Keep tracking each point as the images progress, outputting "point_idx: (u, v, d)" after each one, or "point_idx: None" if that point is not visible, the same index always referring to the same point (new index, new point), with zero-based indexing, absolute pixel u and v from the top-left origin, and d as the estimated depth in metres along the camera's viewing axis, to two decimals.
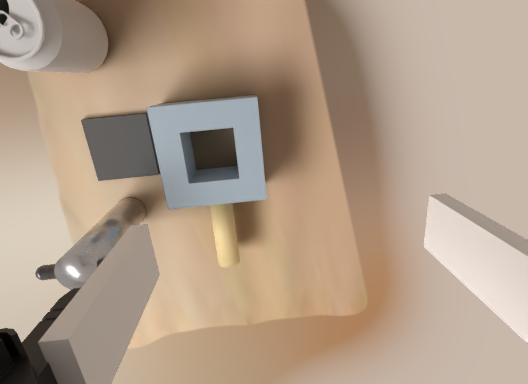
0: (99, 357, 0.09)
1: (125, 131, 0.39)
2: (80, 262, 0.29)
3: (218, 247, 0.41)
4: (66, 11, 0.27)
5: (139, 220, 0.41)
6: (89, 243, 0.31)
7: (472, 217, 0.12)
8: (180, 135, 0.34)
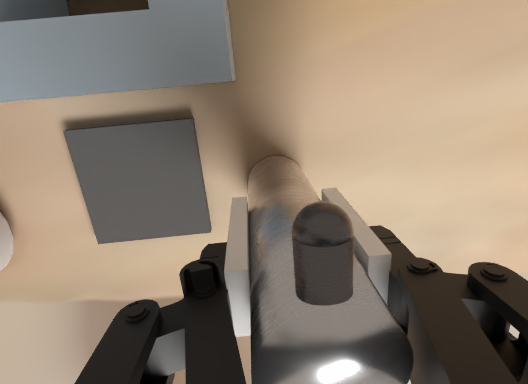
0: None
1: (106, 173, 0.20)
2: (284, 357, 0.07)
3: None
4: None
5: (284, 166, 0.18)
6: (252, 297, 0.09)
7: None
8: None
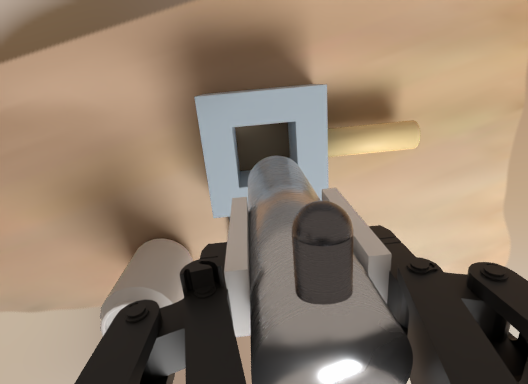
0: None
1: None
2: (284, 356, 0.07)
3: (389, 148, 0.32)
4: (127, 278, 0.30)
5: (284, 166, 0.18)
6: (252, 296, 0.09)
7: None
8: (242, 186, 0.31)
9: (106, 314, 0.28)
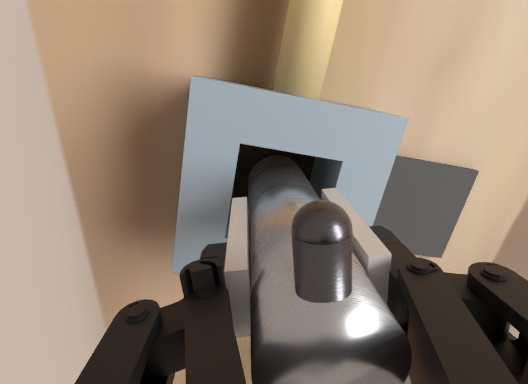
0: None
1: (394, 230, 0.26)
2: (284, 354, 0.07)
3: None
4: None
5: (284, 166, 0.18)
6: (252, 295, 0.09)
7: None
8: None
9: None
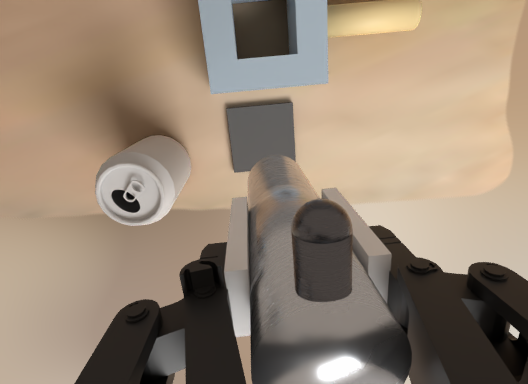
0: None
1: (245, 131, 0.38)
2: (284, 353, 0.07)
3: (390, 25, 0.32)
4: (123, 150, 0.30)
5: (284, 165, 0.18)
6: (252, 294, 0.09)
7: None
8: (240, 59, 0.30)
9: (101, 175, 0.27)
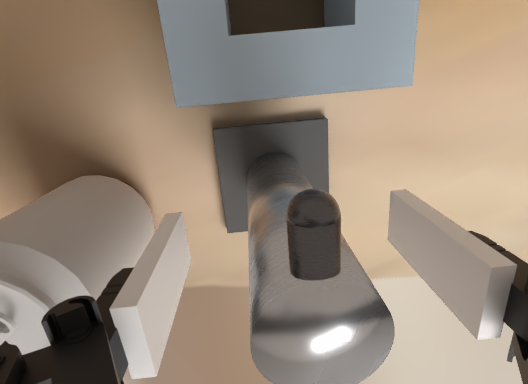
0: (155, 327, 0.10)
1: (245, 168, 0.22)
2: (280, 326, 0.08)
3: None
4: None
5: (282, 162, 0.19)
6: (251, 278, 0.10)
7: (423, 210, 0.13)
8: None
9: None
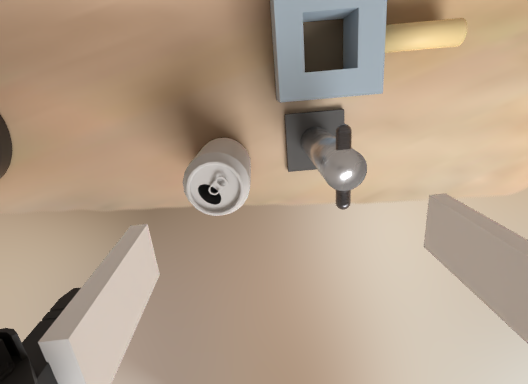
0: (99, 357, 0.09)
1: (300, 135, 0.42)
2: (333, 164, 0.28)
3: (437, 43, 0.36)
4: (205, 151, 0.35)
5: (322, 130, 0.39)
6: (320, 159, 0.30)
7: (472, 217, 0.12)
8: None
9: (192, 172, 0.32)
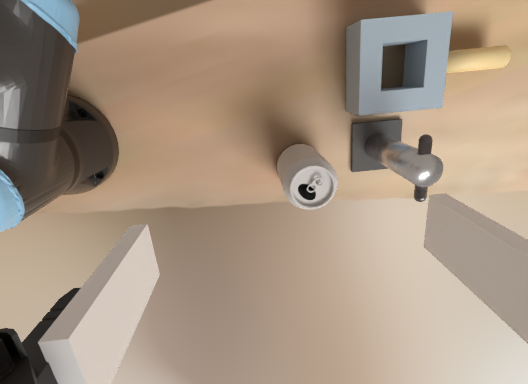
0: (99, 357, 0.09)
1: (364, 141, 0.50)
2: (417, 166, 0.36)
3: (486, 66, 0.44)
4: (300, 156, 0.42)
5: (387, 137, 0.47)
6: (402, 162, 0.38)
7: (472, 217, 0.12)
8: (382, 91, 0.42)
9: (296, 174, 0.40)
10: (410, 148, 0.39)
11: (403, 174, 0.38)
